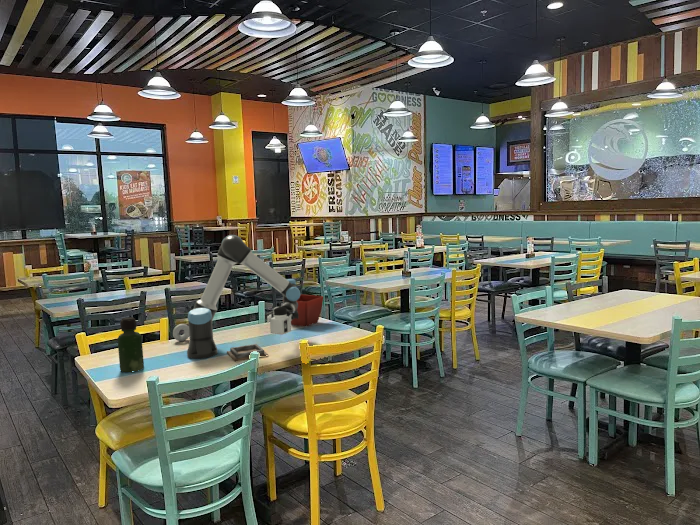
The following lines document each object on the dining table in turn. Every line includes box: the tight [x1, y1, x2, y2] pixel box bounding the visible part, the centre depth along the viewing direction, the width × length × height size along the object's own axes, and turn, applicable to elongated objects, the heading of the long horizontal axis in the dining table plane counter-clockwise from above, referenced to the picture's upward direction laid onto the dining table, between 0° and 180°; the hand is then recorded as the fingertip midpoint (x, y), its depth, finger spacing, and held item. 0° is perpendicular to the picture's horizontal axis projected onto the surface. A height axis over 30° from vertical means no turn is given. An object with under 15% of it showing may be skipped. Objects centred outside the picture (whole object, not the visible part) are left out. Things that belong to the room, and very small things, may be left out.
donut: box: [172, 323, 190, 342], centre depth 292 cm, size 10×3×10 cm, turn 126°
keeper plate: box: [226, 343, 269, 362], centre depth 260 cm, size 17×17×3 cm
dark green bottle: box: [116, 316, 145, 373], centre depth 241 cm, size 10×10×25 cm
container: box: [269, 306, 292, 336], centre depth 258 cm, size 8×8×13 cm
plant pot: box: [291, 293, 324, 327], centre depth 324 cm, size 19×19×17 cm
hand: (278, 319), depth 254 cm, fingers closed on container, 10 cm apart
